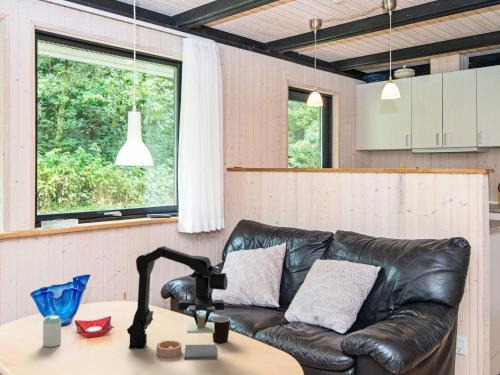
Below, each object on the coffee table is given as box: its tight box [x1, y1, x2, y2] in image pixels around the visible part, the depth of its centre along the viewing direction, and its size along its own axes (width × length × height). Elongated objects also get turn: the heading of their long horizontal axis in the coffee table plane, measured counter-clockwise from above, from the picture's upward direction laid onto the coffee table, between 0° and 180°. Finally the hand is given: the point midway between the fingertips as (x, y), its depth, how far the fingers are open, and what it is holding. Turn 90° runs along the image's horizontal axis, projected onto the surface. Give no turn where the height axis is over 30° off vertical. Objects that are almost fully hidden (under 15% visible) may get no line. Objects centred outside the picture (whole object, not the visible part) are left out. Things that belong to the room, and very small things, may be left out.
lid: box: [186, 314, 215, 334], centre depth 198 cm, size 11×11×5 cm
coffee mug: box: [210, 315, 231, 345], centre depth 214 cm, size 12×9×10 cm
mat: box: [183, 344, 218, 360], centre depth 198 cm, size 13×13×1 cm
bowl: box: [155, 339, 182, 359], centre depth 197 cm, size 10×10×4 cm
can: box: [42, 314, 62, 348], centre depth 203 cm, size 7×7×12 cm
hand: (201, 325), depth 198 cm, fingers closed on lid, 3 cm apart
